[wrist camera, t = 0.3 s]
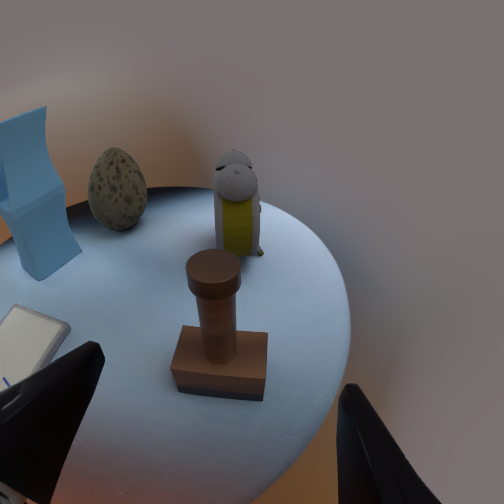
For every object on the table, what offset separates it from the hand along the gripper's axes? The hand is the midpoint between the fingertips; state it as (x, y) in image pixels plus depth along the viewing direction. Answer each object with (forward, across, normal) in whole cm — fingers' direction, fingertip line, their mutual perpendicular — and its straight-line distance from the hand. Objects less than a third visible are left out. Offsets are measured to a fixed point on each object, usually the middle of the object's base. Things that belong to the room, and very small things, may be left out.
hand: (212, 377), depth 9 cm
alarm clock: (+32, +4, +13) cm, 34 cm away
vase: (+25, +37, +14) cm, 47 cm away
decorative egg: (+37, +27, +12) cm, 47 cm away
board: (+3, +29, +16) cm, 33 cm away
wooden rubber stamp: (+12, +2, +15) cm, 19 cm away
